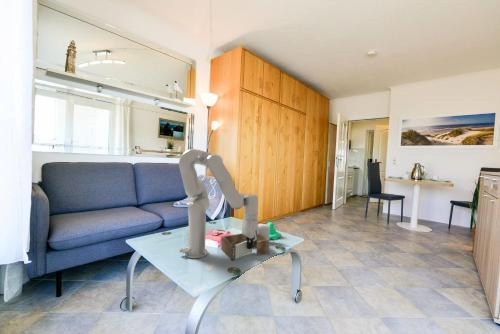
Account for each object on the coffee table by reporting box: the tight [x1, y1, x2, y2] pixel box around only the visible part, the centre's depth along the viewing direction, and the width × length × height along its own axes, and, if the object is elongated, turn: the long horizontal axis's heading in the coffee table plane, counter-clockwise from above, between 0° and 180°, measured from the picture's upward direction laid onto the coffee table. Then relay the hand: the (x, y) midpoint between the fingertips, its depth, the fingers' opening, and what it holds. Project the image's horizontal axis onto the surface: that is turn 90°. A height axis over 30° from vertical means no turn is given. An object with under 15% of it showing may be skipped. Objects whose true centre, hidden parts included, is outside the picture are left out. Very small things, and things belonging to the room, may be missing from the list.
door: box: [233, 241, 255, 260], centre depth 123 cm, size 15×2×8 cm, turn 137°
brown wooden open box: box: [220, 233, 270, 261], centre depth 130 cm, size 24×16×8 cm, turn 119°
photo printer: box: [258, 223, 270, 240], centre depth 145 cm, size 10×4×12 cm, turn 98°
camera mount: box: [266, 221, 282, 241], centre depth 156 cm, size 12×8×10 cm, turn 123°
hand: (249, 248), depth 124 cm, fingers closed
